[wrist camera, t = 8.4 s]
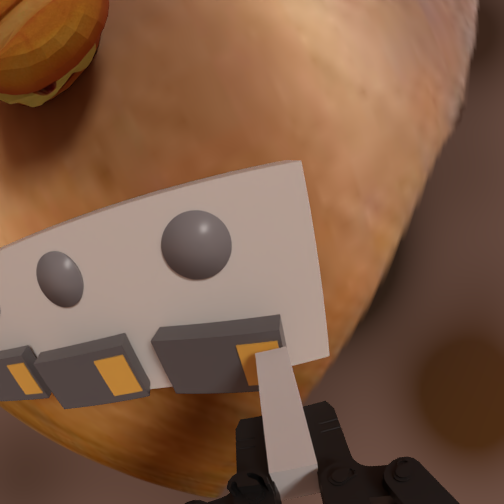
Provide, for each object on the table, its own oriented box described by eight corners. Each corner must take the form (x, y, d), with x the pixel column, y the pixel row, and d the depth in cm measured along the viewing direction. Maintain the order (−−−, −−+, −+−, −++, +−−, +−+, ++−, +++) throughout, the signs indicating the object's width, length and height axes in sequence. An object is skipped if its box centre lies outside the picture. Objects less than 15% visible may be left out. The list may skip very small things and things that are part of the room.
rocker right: (182, 378, 17) (175, 394, 16) (159, 326, 16) (149, 342, 14) (291, 371, 16) (291, 389, 14) (280, 314, 15) (279, 331, 13)
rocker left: (3, 391, 16) (-3, 401, 15) (-21, 354, 15) (-28, 364, 13) (54, 386, 17) (48, 398, 16) (28, 345, 16) (20, 356, 14)
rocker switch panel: (19, 366, 22) (1, 389, 18) (-30, 261, 18) (-57, 278, 14) (314, 324, 21) (330, 357, 17) (286, 160, 18) (302, 160, 14)
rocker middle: (68, 396, 16) (64, 410, 15) (40, 352, 15) (33, 364, 13) (150, 381, 17) (149, 396, 16) (125, 332, 16) (121, 346, 14)
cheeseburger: (30, 3, 11) (-14, -47, 2) (139, 3, 15) (136, -69, 6) (-9, 110, 14) (-82, 102, 5) (98, 116, 18) (55, 95, 9)
